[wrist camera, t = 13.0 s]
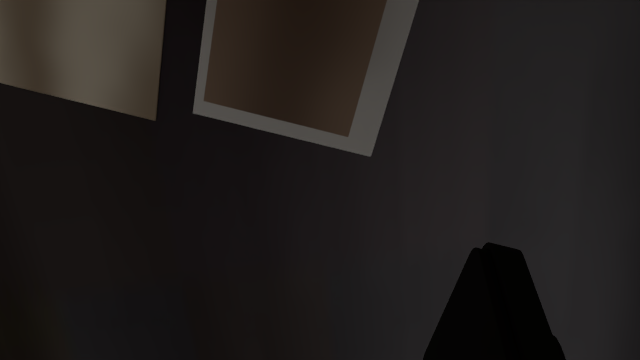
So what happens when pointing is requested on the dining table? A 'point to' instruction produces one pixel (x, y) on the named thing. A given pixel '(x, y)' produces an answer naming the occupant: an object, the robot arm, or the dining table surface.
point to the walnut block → (293, 59)
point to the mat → (370, 101)
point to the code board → (85, 51)
